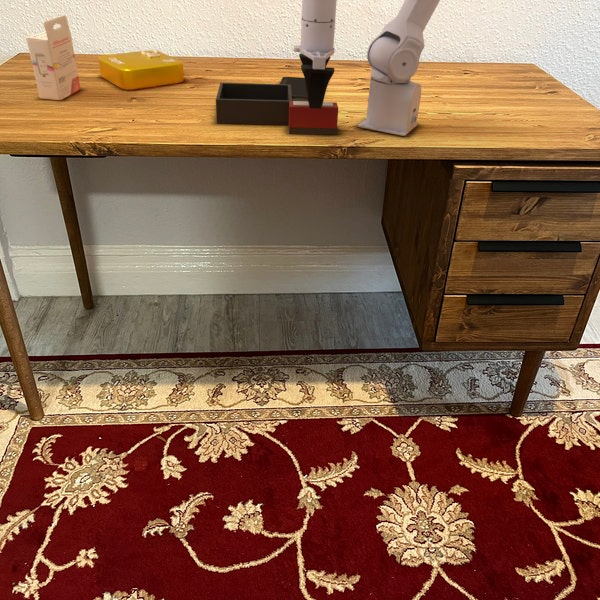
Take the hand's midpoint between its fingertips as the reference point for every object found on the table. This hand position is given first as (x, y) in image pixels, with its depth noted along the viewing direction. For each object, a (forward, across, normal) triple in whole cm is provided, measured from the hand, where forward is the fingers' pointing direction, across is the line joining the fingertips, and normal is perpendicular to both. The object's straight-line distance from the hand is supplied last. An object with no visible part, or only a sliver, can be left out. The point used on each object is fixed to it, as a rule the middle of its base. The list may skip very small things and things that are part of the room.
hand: (314, 101), depth 107 cm
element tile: (+6, -33, -37) cm, 50 cm away
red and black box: (+6, 0, 0) cm, 6 cm away
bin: (+6, -9, -11) cm, 15 cm away
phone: (+6, -26, -2) cm, 27 cm away
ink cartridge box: (+6, -19, -52) cm, 56 cm away
